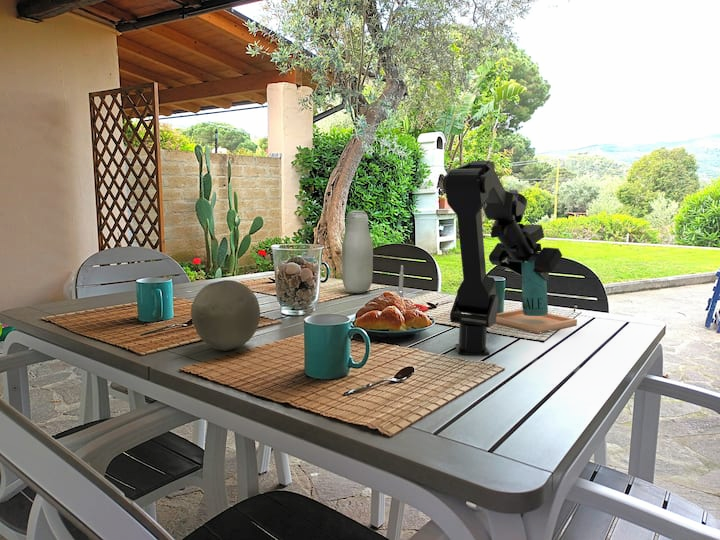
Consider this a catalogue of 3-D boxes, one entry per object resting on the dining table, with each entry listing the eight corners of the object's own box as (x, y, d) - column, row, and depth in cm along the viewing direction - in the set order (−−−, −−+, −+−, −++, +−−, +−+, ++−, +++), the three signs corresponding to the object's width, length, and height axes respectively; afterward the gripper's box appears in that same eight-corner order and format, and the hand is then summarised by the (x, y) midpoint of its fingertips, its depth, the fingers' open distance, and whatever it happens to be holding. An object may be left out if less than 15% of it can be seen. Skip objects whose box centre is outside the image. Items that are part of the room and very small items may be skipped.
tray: (537, 334, 126) (538, 328, 126) (487, 320, 139) (487, 315, 139) (576, 325, 135) (577, 319, 135) (525, 313, 148) (525, 308, 148)
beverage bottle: (542, 317, 139) (540, 242, 138) (553, 321, 133) (550, 242, 131) (518, 318, 139) (515, 243, 138) (528, 322, 132) (525, 244, 131)
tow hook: (431, 309, 154) (401, 305, 158) (434, 266, 152) (404, 263, 156) (422, 315, 147) (391, 311, 150) (425, 270, 144) (394, 267, 148)
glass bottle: (358, 289, 184) (359, 209, 180) (377, 293, 176) (378, 210, 172) (336, 292, 178) (336, 209, 174) (355, 296, 170) (355, 210, 166)
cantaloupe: (190, 344, 115) (188, 277, 113) (255, 339, 120) (253, 274, 118) (194, 364, 102) (191, 288, 100) (266, 357, 107) (265, 284, 105)
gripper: (560, 214, 123) (583, 258, 131) (498, 212, 138) (522, 252, 146) (537, 249, 120) (562, 292, 128) (476, 243, 135) (502, 282, 143)
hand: (536, 278), depth 136 cm, fingers closed on beverage bottle, 6 cm apart
